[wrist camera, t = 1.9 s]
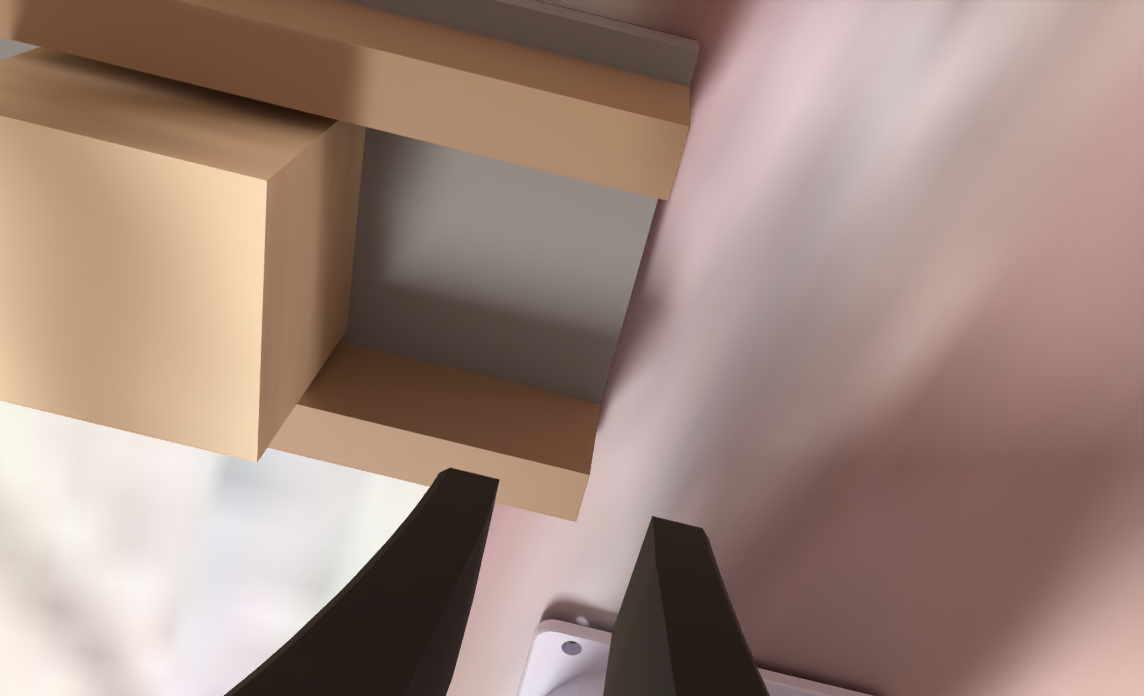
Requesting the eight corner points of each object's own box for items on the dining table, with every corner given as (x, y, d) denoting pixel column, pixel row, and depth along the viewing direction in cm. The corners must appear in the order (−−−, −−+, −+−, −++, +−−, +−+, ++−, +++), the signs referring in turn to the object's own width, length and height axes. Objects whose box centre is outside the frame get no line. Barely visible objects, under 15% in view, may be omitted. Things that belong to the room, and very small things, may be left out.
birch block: (368, 94, 16) (266, 180, 12) (346, 329, 19) (257, 462, 15) (95, 27, 16) (-95, 92, 12) (111, 272, 18) (-40, 390, 15)
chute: (699, 40, 16) (701, 87, 13) (585, 447, 20) (569, 544, 18) (-538, -266, 15) (-803, -286, 13) (-362, 218, 20) (-528, 279, 17)
